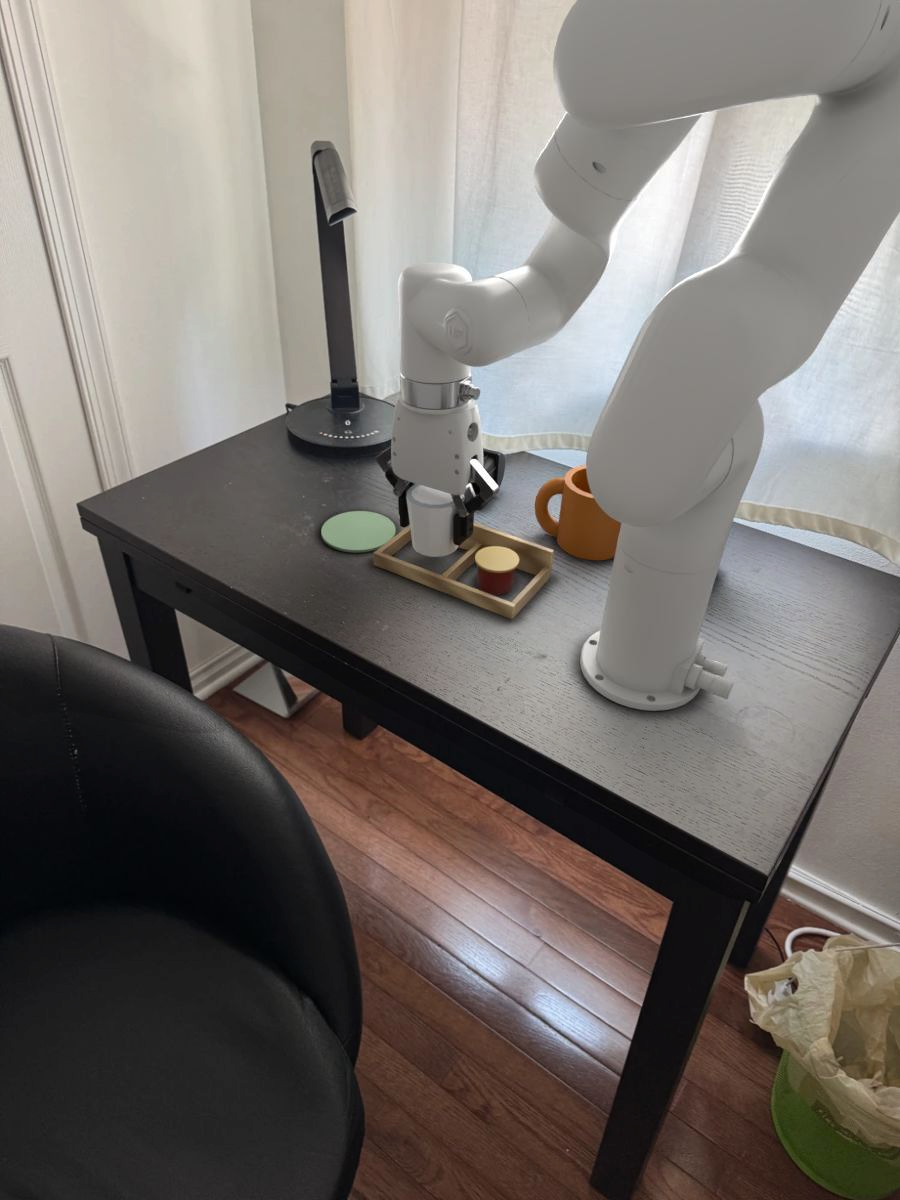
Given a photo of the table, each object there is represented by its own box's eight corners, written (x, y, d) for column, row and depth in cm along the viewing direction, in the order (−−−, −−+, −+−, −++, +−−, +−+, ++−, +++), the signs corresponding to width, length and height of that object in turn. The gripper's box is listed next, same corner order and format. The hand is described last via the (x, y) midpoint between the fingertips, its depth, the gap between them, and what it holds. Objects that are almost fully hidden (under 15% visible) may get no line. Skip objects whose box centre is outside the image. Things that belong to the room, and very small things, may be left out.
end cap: (503, 488, 114) (507, 445, 109) (484, 511, 108) (487, 466, 104) (440, 473, 117) (442, 430, 113) (419, 494, 111) (419, 450, 107)
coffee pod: (524, 580, 96) (527, 554, 93) (503, 601, 92) (506, 576, 90) (486, 566, 98) (488, 541, 95) (465, 587, 94) (466, 561, 92)
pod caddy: (550, 577, 96) (554, 549, 94) (512, 619, 89) (515, 591, 87) (418, 529, 104) (418, 503, 102) (373, 565, 97) (372, 537, 95)
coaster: (409, 527, 104) (409, 524, 104) (366, 561, 98) (366, 558, 97) (351, 506, 108) (351, 503, 108) (305, 537, 102) (305, 534, 101)
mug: (548, 511, 109) (555, 452, 103) (632, 535, 105) (645, 474, 99) (523, 542, 102) (529, 480, 97) (612, 568, 98) (624, 505, 93)
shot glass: (457, 562, 93) (458, 510, 89) (401, 555, 94) (399, 503, 90) (468, 533, 99) (469, 482, 95) (414, 527, 100) (413, 477, 96)
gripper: (523, 393, 84) (513, 537, 94) (389, 363, 91) (394, 500, 102) (488, 417, 79) (482, 567, 89) (349, 382, 86) (358, 524, 96)
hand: (435, 530), depth 95 cm, fingers closed on shot glass, 6 cm apart
